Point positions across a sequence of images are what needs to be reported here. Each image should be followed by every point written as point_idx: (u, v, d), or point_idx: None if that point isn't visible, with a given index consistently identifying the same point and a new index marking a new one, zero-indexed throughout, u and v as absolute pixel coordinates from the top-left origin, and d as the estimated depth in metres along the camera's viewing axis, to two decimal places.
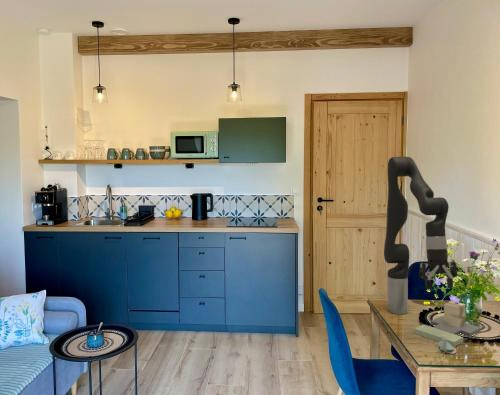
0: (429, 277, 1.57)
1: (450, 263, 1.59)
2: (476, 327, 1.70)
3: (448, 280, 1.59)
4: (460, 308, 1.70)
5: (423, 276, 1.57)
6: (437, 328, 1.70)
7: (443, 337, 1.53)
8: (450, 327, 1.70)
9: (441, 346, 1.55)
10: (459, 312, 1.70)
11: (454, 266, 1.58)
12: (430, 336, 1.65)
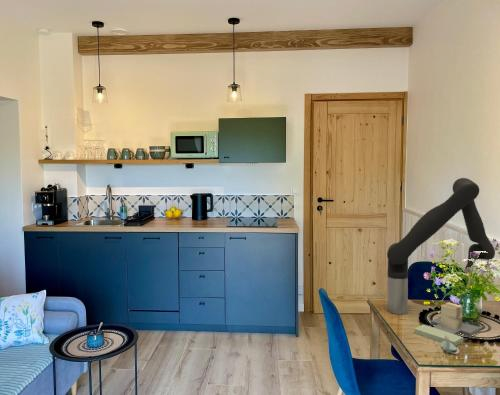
0: None
1: None
2: (476, 327, 1.70)
3: None
4: (457, 310, 1.68)
5: None
6: (437, 328, 1.70)
7: (446, 337, 1.53)
8: None
9: (444, 347, 1.55)
10: (456, 314, 1.68)
11: None
12: (430, 336, 1.65)
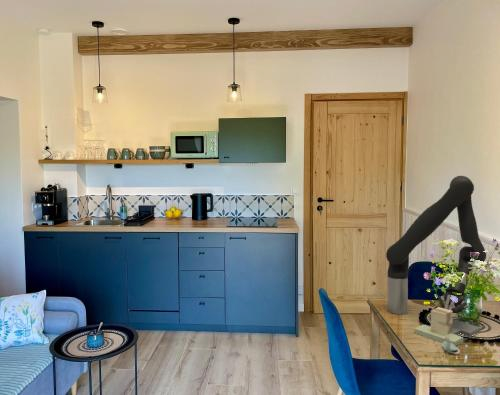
0: None
1: None
2: (476, 327, 1.70)
3: None
4: (447, 315, 1.62)
5: None
6: None
7: (447, 337, 1.53)
8: None
9: (445, 347, 1.55)
10: (446, 319, 1.62)
11: None
12: (430, 336, 1.65)
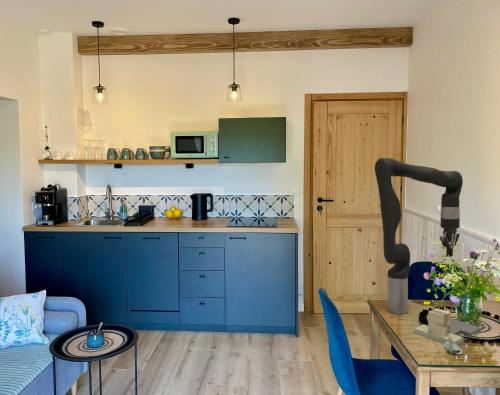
0: (451, 245, 1.74)
1: None
2: (476, 327, 1.70)
3: None
4: (444, 316, 1.61)
5: (448, 245, 1.73)
6: None
7: (449, 338, 1.53)
8: (450, 327, 1.70)
9: (447, 347, 1.55)
10: (444, 321, 1.61)
11: (457, 237, 1.77)
12: (430, 336, 1.65)
